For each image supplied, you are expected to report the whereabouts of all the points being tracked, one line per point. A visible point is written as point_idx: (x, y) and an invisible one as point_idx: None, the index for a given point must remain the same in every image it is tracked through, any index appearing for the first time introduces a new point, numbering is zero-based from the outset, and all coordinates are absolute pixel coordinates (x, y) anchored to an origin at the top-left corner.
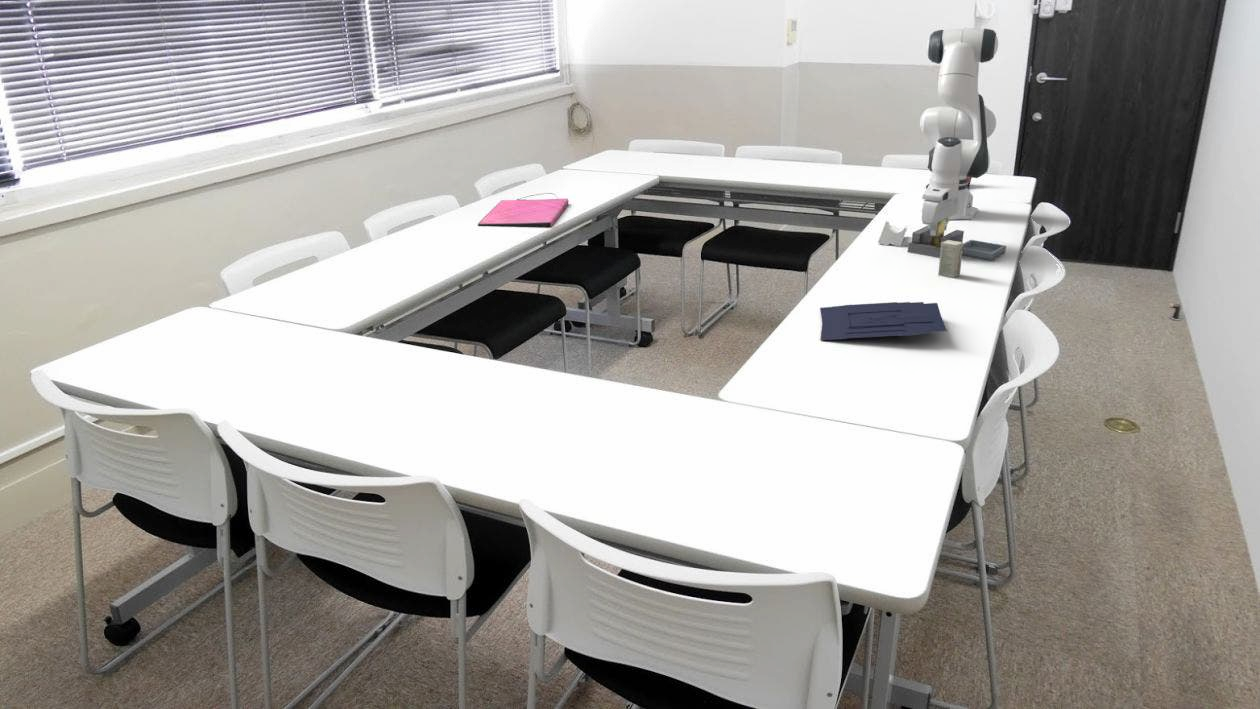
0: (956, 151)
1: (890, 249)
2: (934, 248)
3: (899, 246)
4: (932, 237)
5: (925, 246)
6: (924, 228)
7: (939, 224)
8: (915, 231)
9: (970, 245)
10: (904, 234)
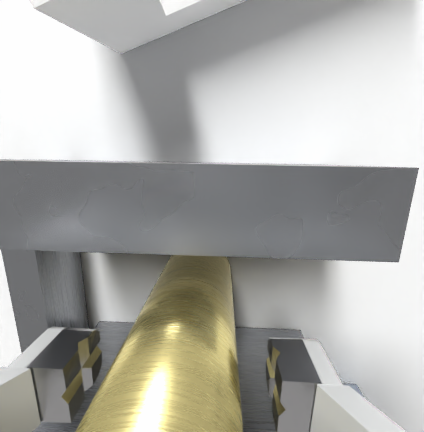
0: None
1: (12, 34)
2: (23, 343)
3: (120, 51)
4: (151, 293)
5: (11, 289)
6: (218, 195)
7: None
8: (18, 166)
9: None
10: (77, 29)
